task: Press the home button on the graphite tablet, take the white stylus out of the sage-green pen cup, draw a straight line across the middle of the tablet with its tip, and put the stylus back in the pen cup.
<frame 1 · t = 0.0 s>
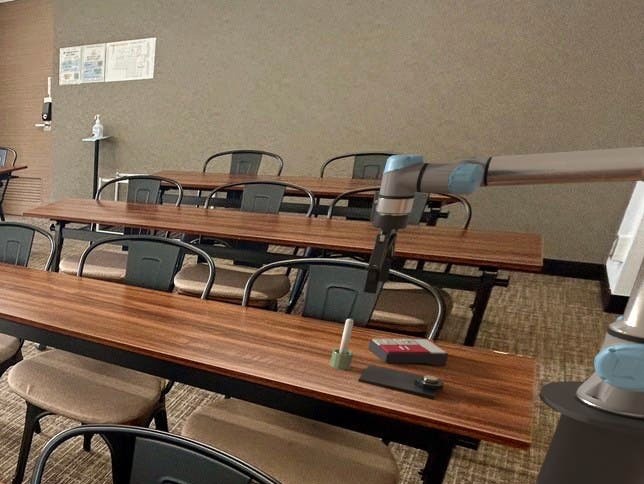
hand: (375, 287, 165), 23 cm above the table, tool pointing down, fingers open, 13 cm apart
stylus: (340, 365, 169), resting on pen cup
pen cup: (339, 367, 169), on the table
home button: (430, 379, 153), point 3 cm above the table, slide at 0.2 cm
tablet: (398, 382, 158), on the table
calculator: (404, 357, 172), on the table
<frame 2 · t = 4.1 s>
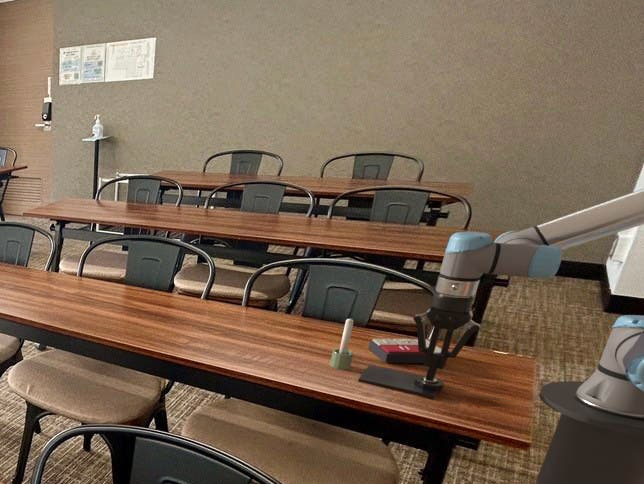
hand: (429, 378, 153), 3 cm above the table, tool pointing down, fingers closed
home button: (429, 381, 153), point 2 cm above the table, slide at -0.3 cm, touching gripper
everything else where it was.
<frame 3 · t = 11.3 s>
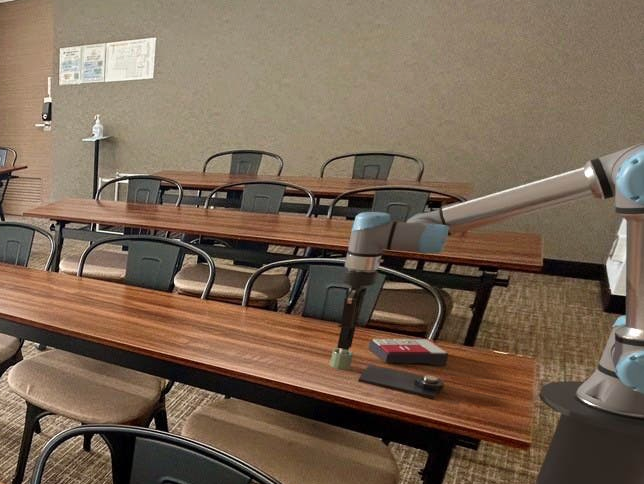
hand: (344, 347, 167), 6 cm above the table, tool pointing down, fingers closed on stylus, 2 cm apart
stylus: (340, 365, 169), resting on pen cup, touching gripper
home button: (430, 379, 153), point 3 cm above the table, slide at 0.1 cm
everything else where it was.
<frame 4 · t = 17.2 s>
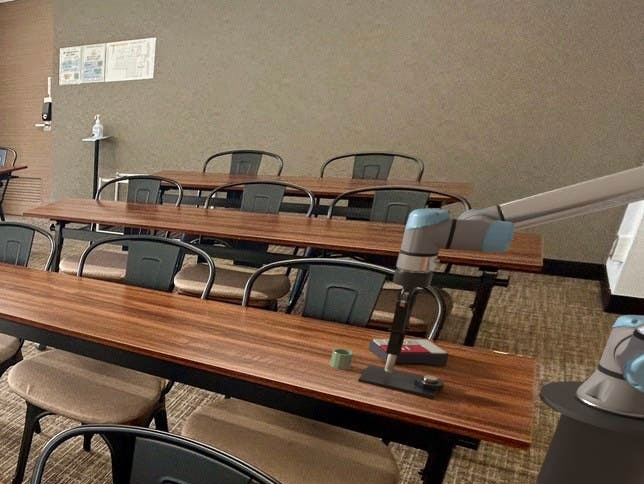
hand: (393, 352, 157), 8 cm above the table, tool pointing down, fingers closed on stylus, 2 cm apart
stylus: (388, 372, 159), point 2 cm above the table, touching gripper
everything else where it was.
when the fingers open (6 cm above the table, at t = 23.5 s): stylus stays where it is, resting on pen cup.
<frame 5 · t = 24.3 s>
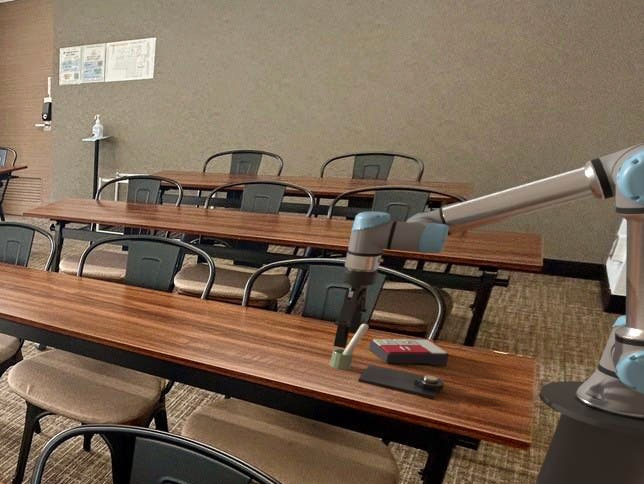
hand: (345, 339, 166), 9 cm above the table, tool pointing down, fingers open, 13 cm apart
stylus: (339, 365, 169), point 1 cm above the table, tilted 17°, touching pen cup
everything else where it was.
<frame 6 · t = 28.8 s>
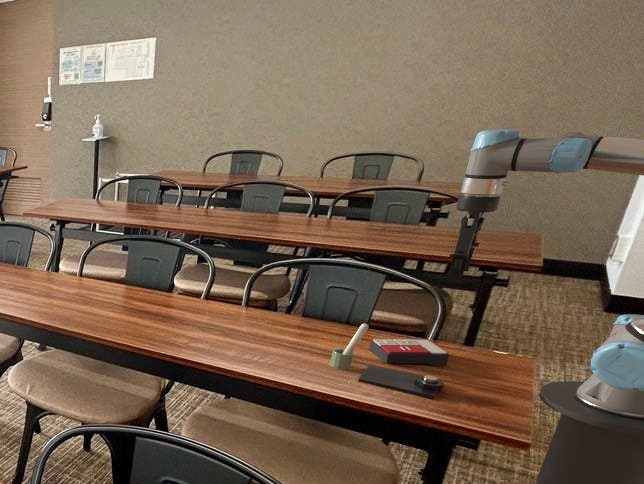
hand: (457, 276, 151), 29 cm above the table, tool pointing down, fingers open, 13 cm apart
nothing on the table moved.
at the end: home button pushed in 0.6 cm at the most during the clip, back to where it started at the end; stylus 0.2 cm off-centre in the pen cup, point 0.5 cm above the pen cup's base; stylus tilted 17° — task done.
